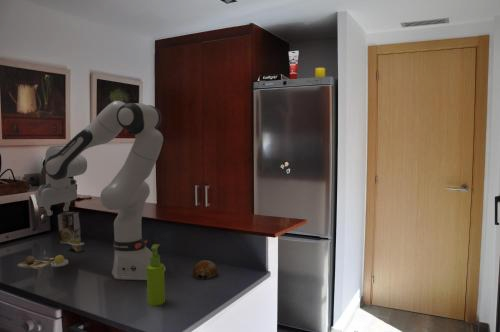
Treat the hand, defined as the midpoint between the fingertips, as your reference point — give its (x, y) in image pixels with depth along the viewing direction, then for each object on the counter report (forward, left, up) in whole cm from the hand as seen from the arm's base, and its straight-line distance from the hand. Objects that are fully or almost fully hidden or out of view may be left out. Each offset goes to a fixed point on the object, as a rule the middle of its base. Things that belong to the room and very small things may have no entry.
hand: (58, 213), depth 175 cm
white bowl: (+1, 0, -24) cm, 24 cm away
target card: (+12, -5, -24) cm, 27 cm away
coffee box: (+23, -31, -24) cm, 45 cm away
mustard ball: (+1, 0, -23) cm, 23 cm away
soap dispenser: (-62, +22, -24) cm, 70 cm away
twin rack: (+10, +5, -24) cm, 26 cm away
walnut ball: (+13, +5, -23) cm, 27 cm away
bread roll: (-68, -6, -24) cm, 73 cm away
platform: (+8, -18, -24) cm, 31 cm away
